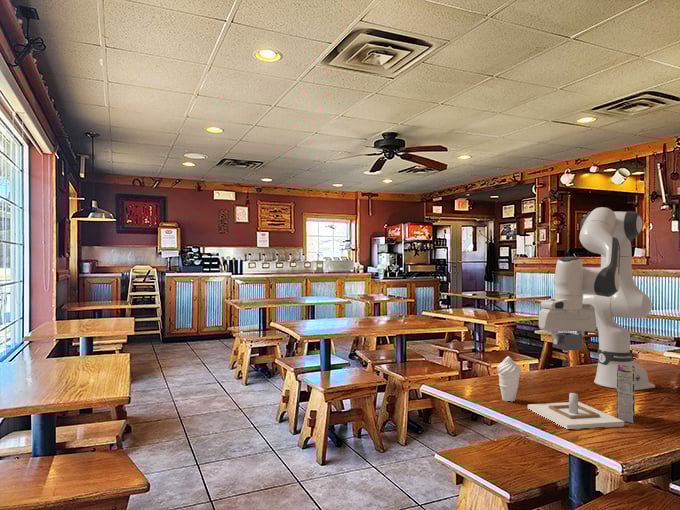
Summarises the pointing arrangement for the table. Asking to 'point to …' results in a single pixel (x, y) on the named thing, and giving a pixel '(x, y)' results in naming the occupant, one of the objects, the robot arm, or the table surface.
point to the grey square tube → (569, 341)
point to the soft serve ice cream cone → (508, 378)
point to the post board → (575, 414)
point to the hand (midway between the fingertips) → (567, 344)
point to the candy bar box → (626, 393)
